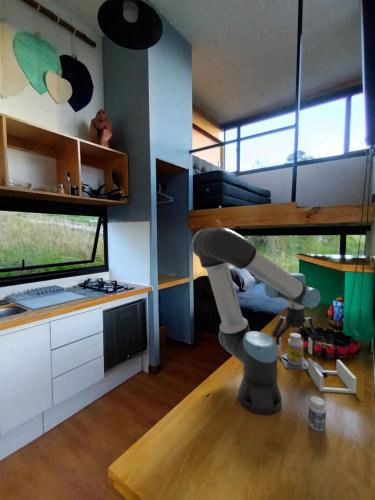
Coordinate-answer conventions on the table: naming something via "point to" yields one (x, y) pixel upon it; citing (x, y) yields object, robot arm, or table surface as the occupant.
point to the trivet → (292, 366)
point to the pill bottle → (317, 414)
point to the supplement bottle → (295, 349)
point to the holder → (340, 371)
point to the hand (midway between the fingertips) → (294, 351)
